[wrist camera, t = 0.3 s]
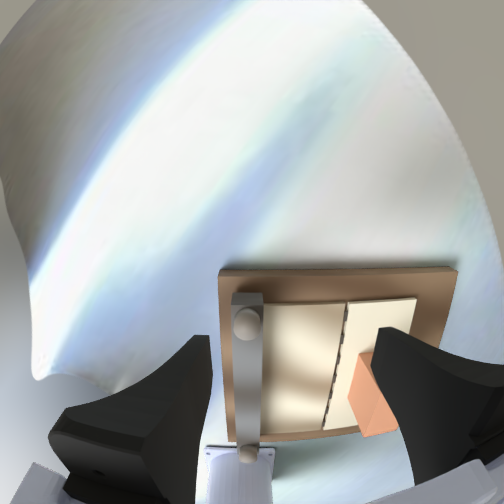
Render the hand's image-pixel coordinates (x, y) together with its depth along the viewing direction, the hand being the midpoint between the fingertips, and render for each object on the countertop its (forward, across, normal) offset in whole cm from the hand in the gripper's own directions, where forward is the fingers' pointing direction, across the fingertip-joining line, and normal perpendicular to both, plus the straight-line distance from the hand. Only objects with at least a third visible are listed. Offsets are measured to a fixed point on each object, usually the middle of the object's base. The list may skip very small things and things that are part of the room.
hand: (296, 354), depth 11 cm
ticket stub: (+8, -8, +9) cm, 15 cm away
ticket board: (+10, -6, +9) cm, 15 cm away
